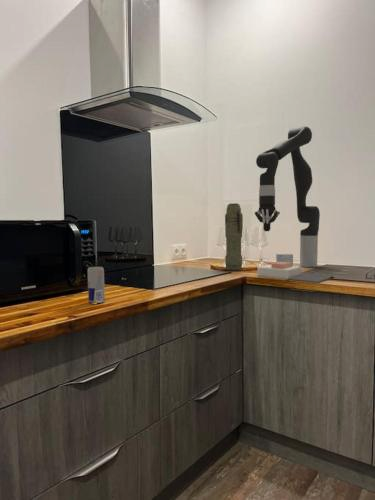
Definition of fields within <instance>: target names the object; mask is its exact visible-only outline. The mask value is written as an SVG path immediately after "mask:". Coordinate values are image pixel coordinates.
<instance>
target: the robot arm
mask: <svg viewBox="0 0 375 500" xmlns="http://www.w3.org/2000/svg"><path fill="white" fill-rule="evenodd" d="M312 137H313V133H312V130H311V128H310V127H309V126H298V127H294V128H291V129H290V130H289V131H288V133H287V139H286V140H282V141H280V142H278V143H277V144H276V145H275V146H273V147H272V148H270V149H268V150H265V151H263V152H261V153H260V154H258V155H257V157H256V160H255V162H256V163H255V164H256V166H257V167H258V168H259V169H266V170H265V171H264V172H263V173H261V174H260V176H259V190H258V204H259V205H258V210H257V211H255V212H254V215H255V217H256V218H257V220H258V221H259V222H260V223H262V225H263V231H264V232H270V231H271V225H272V223H275V221H276V220H277V218H278V217H279V215H280V214H281V212H280V211H278V210H277V209H276V206H275V205H276V187H275V181H276V179H275V178H276V172H277V170H278V166H279V161H281V160H282V159H284V158H285V157H286V156H287V155H289V154H290V155H291V156H290V157H291V162H292V169H293V179H294V186H295V194H296V213H297V214H296V215H297V219H298V221H299V222H300V223H302V224H308V226H307V227H306V228H303V229H301V230H300V235H299V236H300V238H299V243H300V244H299V249H300V250H299V267H302V268H317V267H318V252H319V251H318V245H319V244H318V243H319V242H318V241H319V231H320V219H321V218H320V216H321V214H320V209H319V207H318V206H316V205H315V206H314V205H313V206H312V205H311V206H310V205H309V206H308V205H307V203H306V202H307V201H306V200H307V195H308V193H309V191H310V190H311V188H312V184H313V174H312V173H313V172H312V169H311V166H310V164H309V163H308V162H307V161H306V159H305V158H304V157H303V155H302V153H301V147H303V146H306V145H307V144H309V143H310V142H312Z"/></svg>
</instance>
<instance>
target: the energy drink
mask: <svg viewBox="0 0 375 500" xmlns="http://www.w3.org/2000/svg"><path fill="white" fill-rule="evenodd" d="M87 291H88V292H87V293H88V294H87V295H88V303H89V304H90V303H102V302H104V303H105V302H106V297H105V294H106V293H105V291H106V289H105V270H104V267H103V266H90V267H88V268H87ZM102 304H103V303H102Z"/></svg>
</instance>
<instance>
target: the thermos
mask: <svg viewBox="0 0 375 500" xmlns="http://www.w3.org/2000/svg"><path fill="white" fill-rule="evenodd" d="M243 219H244V217H243V212H242V208H241V205H240V204H239V203H237V202H236V203H228V204H227V207H226V212H225V215H224V225H225V226H224V227H225V229H224V231H225V234H224V235H225V238H226V241H225V243H226V244H225V245H226V255H225V256H224V259H225V262H224V263H225V270H226V271H232V272H233V271H242V270H243V256H242V238H243V226H244V225H243V222H244V221H243ZM241 269H242V270H241Z"/></svg>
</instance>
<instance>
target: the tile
mask: <svg viewBox="0 0 375 500" xmlns="http://www.w3.org/2000/svg"><path fill="white" fill-rule="evenodd" d="M270 265H271V268H279V269H284V268H288V267H292V263H291V262H273V263H271V264H270Z"/></svg>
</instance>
